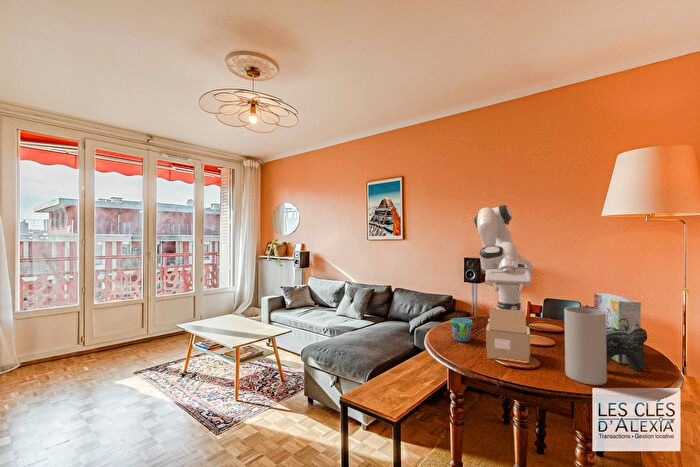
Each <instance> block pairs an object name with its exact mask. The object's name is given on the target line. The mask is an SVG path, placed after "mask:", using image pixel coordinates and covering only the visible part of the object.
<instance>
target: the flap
mask: <svg viewBox="0 0 700 467" xmlns="http://www.w3.org/2000/svg"><path fill="white" fill-rule="evenodd" d="M488 309H489V311H488V312H489V313H488V314H489V318H488V319H489V321H488V323H489V329H491V330H500V331H510V332H519V333H526V326H527V320H526V319H527V318H526V316H527V315H526V312H527V311H526V310H521V311H519V310H507V309H496V308H494V307H492V308H491V307H489V308H488Z"/></svg>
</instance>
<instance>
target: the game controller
mask: <svg viewBox="0 0 700 467" xmlns="http://www.w3.org/2000/svg"><path fill="white" fill-rule="evenodd" d="M621 320H626V319H620V320H619V321H618V322H620V321H621ZM626 321H627V320H626ZM627 323H628V326H627V325H623V326H624V327H625V328H624V329H623V330H618V329H615V328H611V327H609V328H606V329H610V328H611V329H615V330H609V331H606V352H607V367H608V365H609V361H610V360H612V357H613V356H615V355H625V356H626V357H627V359H628V362H629V364H628V365H629V366H628V367H629V369H631V370H632V371H635V372H645V351H644V344H645V342H646V341H648V332H647V331H646V329H644V328H642V327H641V328H640V326H639V325H638V323H636V325H635V326H629V322H628V321H627Z"/></svg>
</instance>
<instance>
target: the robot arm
mask: <svg viewBox="0 0 700 467" xmlns="http://www.w3.org/2000/svg"><path fill="white" fill-rule="evenodd" d="M512 217H513V214H512V211H511V209H510V207H509V206H507V205H506V204H503V205H499V206H496V207H492V208H491V207H487V206H486V207H483V208H481V209H480V210H479V211H478V213H477V215H475V217H474V219H473V222H474V225H475V226H474V227H476V229H477V231H478V235H479V238H480V240H481V244H482V248H481V249H480V250H479V259H480V261H479V262H480V271H481V273H482V274H483V275H485V284H487V285H490V286H491V285H492V286H493V288H494V290H495V292H498V301H497V304H496V308H495V309H507V310H519V311H522V310H521V306H522V304H521V302H520V300H521V296H520V294H521V291H522V289H524V287H531V286H532V274H533V271H534V267H533V264H532V263H531V261H530V260H528V259H526V258H524V257H523V256H521V255H520V254H519V252H518V249H517V247H516V245H515V244H514V243H513V238H512V235H511V233H510V230H509V228H508V225H509V224H510V222H511V220H512ZM487 321H488V322H489V318H488V319H487Z"/></svg>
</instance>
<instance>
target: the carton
mask: <svg viewBox="0 0 700 467" xmlns="http://www.w3.org/2000/svg"><path fill="white" fill-rule="evenodd" d="M485 337H486V338H485V345H486V347H485V349H486V350H485V351H486V354H487V355H486V358H487V359H490V360H495V359H494V358H507V359H514V360H521V361H527V362H529V363H530V357H531V331H530V326H528V325H526V333H519V332H510V331H500V330H491V329H489V322H488V323H487V325H486V329H485Z"/></svg>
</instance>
